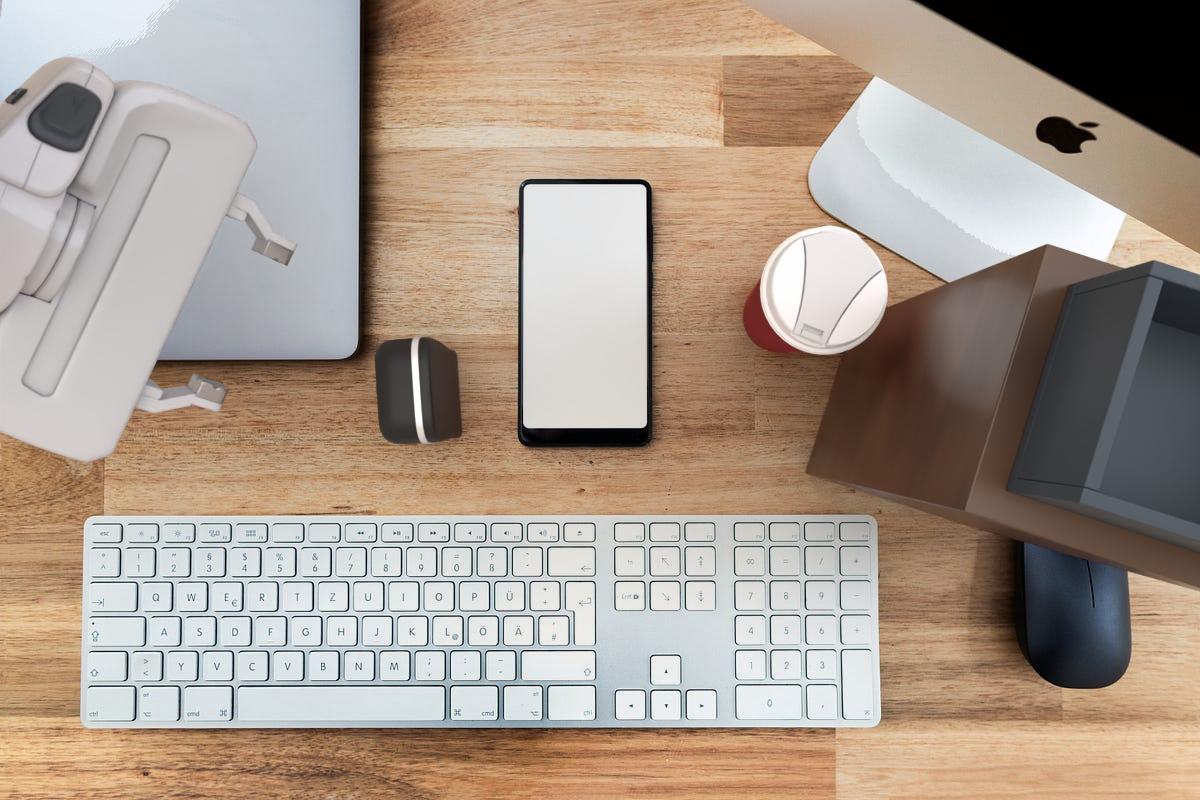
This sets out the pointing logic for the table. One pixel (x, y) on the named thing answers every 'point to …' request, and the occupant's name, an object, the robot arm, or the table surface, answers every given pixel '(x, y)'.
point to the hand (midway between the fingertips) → (255, 325)
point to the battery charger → (417, 391)
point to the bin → (1121, 406)
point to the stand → (971, 412)
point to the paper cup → (817, 294)
